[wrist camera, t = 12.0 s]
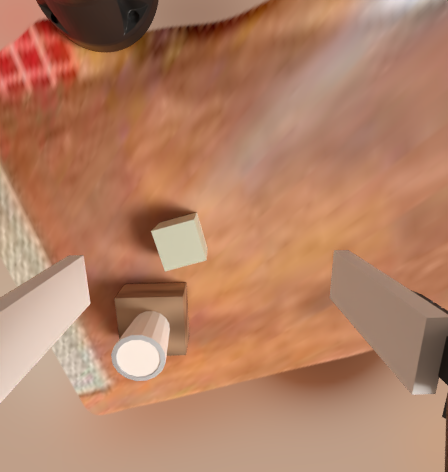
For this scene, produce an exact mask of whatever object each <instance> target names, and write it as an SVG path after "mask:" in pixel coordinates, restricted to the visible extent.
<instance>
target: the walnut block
mask: <svg viewBox="0 0 448 472" xmlns="http://www.w3.org/2000/svg"><path fill="white" fill-rule="evenodd" d="M114 300H115V308H116V316H117V324H118V332H119V339H120V338H121V336H122V335H123V334H124V332H125V331H126V330H127V328H128V327H129V326H130V324H131V323H132V322H133V320H134V319H135V318H136V317H137V316H138V315H139V314H141V313H143V312H145V311H155V312H158V313H160V314H162V315H163V316H164V317H165V318H166V319H167V321H168V322H169V327H170V332H169V340H168V348H167V355H166V356H171V355H186V353H187V347H188V340H189V322H188V303H187V284H186V283H149V284H125V285H124V286H123V288H122V289H121V290H120V292H119V293H118V294H117V296H116V297H115V298H114Z"/></svg>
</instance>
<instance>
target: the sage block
mask: <svg viewBox="0 0 448 472" xmlns="http://www.w3.org/2000/svg"><path fill="white" fill-rule="evenodd" d="M151 232H152V235H153V238H154V241H155V244H156V247H157V250H158V253H159V255H160V258H161V261H162V264H163V267H164V270H165V271H168V270H172V269H176V268H180V267H183V266H187V265H191V264H195V263H198V262H202V261H206V258H207V245H206V241H205V238H204V235H203V231H202V228H201V225H200V221H199V218H198V215H197V212H196V213H193V214H189V215H185V216H182V217H178V218H174V219H171V220H167V221H163V222H160V223H159V224H158V225H157V226H156V227H155V228H154V229H153V230H152V231H151Z"/></svg>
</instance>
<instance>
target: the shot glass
mask: <svg viewBox="0 0 448 472" xmlns="http://www.w3.org/2000/svg"><path fill="white" fill-rule="evenodd" d="M169 332H170V327H169V322H168V321H167V319H166V318H165V317H164V316H163V315H162V314H160V313H158V312H155V311H145V312H143V313H141V314H139V315H138V316H137V317H136V318H135V319H134V320H133V322H132V323H131V324H130V326H129V327H128V328H127V330H126V331H125V332H124V334H123V335H122V336H121V338H120V339H119V340H118V342H117V343H116V345H115V346H114V348H113V351H112V354H111V356H112V363H113V365H114V367H115V368H116V370H117V371H118V372H119V373H120V374H121V375H123V376H124V377H126V378H128V379H132V380H135V381H144V380H149V379H151V378H154V377H156V376H157V375H158V374H159V373H160V372H161V371H162V370H163V367H164V365H165V362H166V355H167V348H168V340H169Z"/></svg>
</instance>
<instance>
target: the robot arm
mask: <svg viewBox="0 0 448 472" xmlns="http://www.w3.org/2000/svg"><path fill="white" fill-rule="evenodd" d="M36 1H37V3H38V4H39V6H40V7H41V10H42V11H43V12H44V14H45V15H46V17H47V18H48V19H49V20H50V21H51V23H52V24H53V25H54V26H55V27H56V28H57V29H58V30H60V31H61V32H62V33H63V34H64V35H65V36H67V37H68V38H69V39H70V40H72V41H73V42H75V43H76V44H78V45H80V46H82V47H84V48H87V49H89V50H93V51H98V52H114V51H119V50H122V49H125V48H127V47H129V46H131V45H132V44H134V43H135V42H136V41H138V40H139V39H140V38H141V37H142V36H143V35H144V34H145V32H146V31H147V30H148V28H149V26H150V25H151V23H152V21H153V18H154V16H155V13H156V10H157V5H158V0H36ZM330 299H331V300H332V301H333V302H334V304H335V305H336V306H337V307H338V308H339V309H340V311H341V312H342V313H343V314H344V315H345V316H346V318H347V319H348V320H349V321H350V322H351V324H352V325H353V326H354V327H355V328H356V329H357V331H358V332H359V333H360V334H361V335H362V336H363V338H364V339H365V340H366V341H367V342H368V343H369V345H370V346H371V347H372V348H373V349H374V351H375V352H376V353H377V354H378V355H379V356H380V358H381V359H382V360H383V361H384V362H385V363H386V365H387V366H388V367H389V368H390V369H391V370H392V372H393V373H394V374H395V375H396V376H397V378H398V379H399V380H400V381H401V382H402V383H403V385H404V386H405V387H406V388H407V389H408V390H409V392H410V393H411V394H435V393H436V389H437V384H438V379H439V377H440V378H441V379H442V380H443V381H444V382H445V383H446V384H447V385H448V311H447V310H445V309H444V308H441V306H439V305H438V304H436V303H433V301H431V300H430V299H428V298H426V297H425V296H423V295H421V294H419V293H416V292H414V291H411V290H409V289H408V288H406V287H405V286H403V285H402V284H400V283H398V282H397V281H395V280H394V279H392V278H391V277H389V276H388V275H386V274H384V273H383V272H381V271H380V270H378V269H377V268H375V267H374V266H372V265H371V264H369V263H367V262H366V261H364V260H363V259H361V258H360V257H358V256H357V255H355V254H354V253H352V252H350V251H349V250H334V256H333V267H332V278H331V289H330ZM90 304H91V303H90V296H89V290H88V283H87V276H86V269H85V263H84V256H83V255H79V256H67V257H66V258H64V259H62V260H61V261H59V262H57V263H56V264H54V265H53V266H51V267H49V268H48V269H46V270H44V271H43V272H41V273H40V274H38V275H36V276H35V277H33V278H31V279H30V280H28V281H26V282H25V283H23V284H22V285H20V286H18V287H17V288H15V289H14V290H12V291H10V292H9V293H7V294H5V295H4V296H2V297H0V403H1V402H2V401H3V400H4V398H5V397H6V396H7V395H8V394H9V393H10V392H11V391H12V390H13V389H14V387H15V386H16V385H17V384H18V383H19V382H20V381H21V380H22V379H23V377H24V376H25V375H26V374H27V373H28V372H29V371H30V370H31V369H32V368H33V366H34V365H35V364H36V363H37V362H38V361H39V360H40V359H41V358H42V357H43V355H44V354H45V353H46V352H47V351H48V350H49V349H50V348H51V347H52V346H53V344H54V343H55V342H56V341H57V340H58V339H59V338H60V337H61V336H62V335H63V333H64V332H65V331H66V330H67V329H68V328H69V327H70V326H71V325H72V323H73V322H74V321H75V320H76V319H77V318H78V317H79V316H80V315H81V314H82V312H83V311H84V310H85V309H86V308H87V307H88V306H89V305H90ZM442 417H444V418H446V447H445V472H448V394H447V398H446V403H445V407H444V411H443V415H442Z"/></svg>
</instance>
